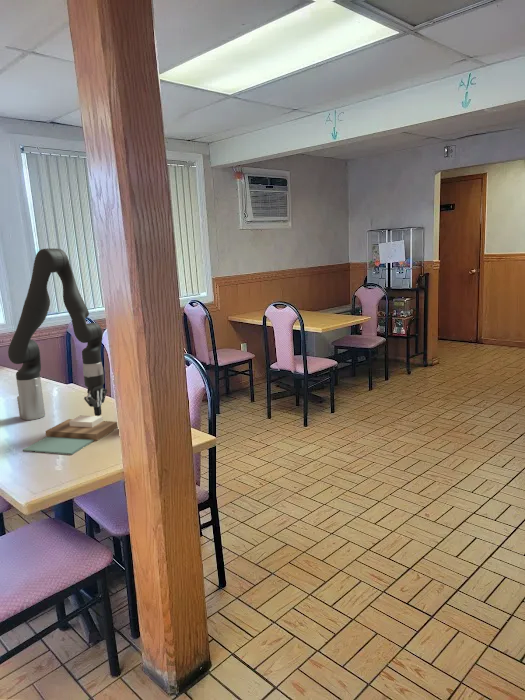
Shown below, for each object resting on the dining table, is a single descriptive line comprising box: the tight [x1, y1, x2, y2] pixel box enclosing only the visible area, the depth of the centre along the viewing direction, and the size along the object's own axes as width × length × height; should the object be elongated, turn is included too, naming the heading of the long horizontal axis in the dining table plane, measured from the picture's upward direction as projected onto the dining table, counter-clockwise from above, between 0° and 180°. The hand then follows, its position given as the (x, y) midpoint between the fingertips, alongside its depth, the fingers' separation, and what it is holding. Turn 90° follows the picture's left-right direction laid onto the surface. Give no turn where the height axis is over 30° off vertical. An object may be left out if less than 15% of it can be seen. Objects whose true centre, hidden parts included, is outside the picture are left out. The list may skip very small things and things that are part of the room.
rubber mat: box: [22, 436, 95, 456], centre depth 185 cm, size 20×13×1 cm, turn 74°
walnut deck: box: [45, 418, 119, 442], centre depth 198 cm, size 22×14×2 cm, turn 74°
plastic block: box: [69, 415, 104, 427], centre depth 201 cm, size 10×7×2 cm
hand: (98, 415), depth 208 cm, fingers closed
